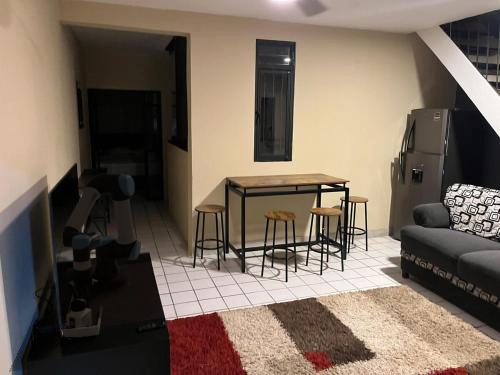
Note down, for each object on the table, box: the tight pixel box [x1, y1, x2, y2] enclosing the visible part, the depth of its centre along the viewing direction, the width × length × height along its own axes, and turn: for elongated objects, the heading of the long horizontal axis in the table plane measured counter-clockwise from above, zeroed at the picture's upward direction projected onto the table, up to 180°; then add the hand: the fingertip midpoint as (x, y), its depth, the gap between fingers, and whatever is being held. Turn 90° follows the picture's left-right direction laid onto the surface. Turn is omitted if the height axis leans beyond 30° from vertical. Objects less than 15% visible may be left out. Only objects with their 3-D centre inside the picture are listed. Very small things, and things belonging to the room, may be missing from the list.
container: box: [65, 298, 93, 328], centre depth 180 cm, size 8×8×13 cm
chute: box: [62, 305, 103, 338], centre depth 184 cm, size 24×15×4 cm, turn 16°
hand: (84, 314), depth 187 cm, fingers closed
